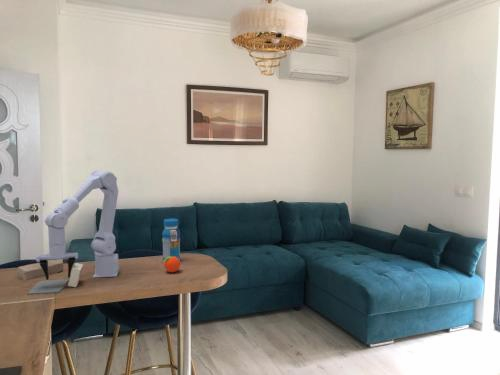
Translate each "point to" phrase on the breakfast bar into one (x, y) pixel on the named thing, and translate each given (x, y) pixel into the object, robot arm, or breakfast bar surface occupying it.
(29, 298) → the breakfast bar surface
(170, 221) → the beverage bottle
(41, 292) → the mat
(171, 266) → the clementine
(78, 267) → the slab
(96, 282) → the breakfast bar surface
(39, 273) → the brick
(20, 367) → the breakfast bar surface
